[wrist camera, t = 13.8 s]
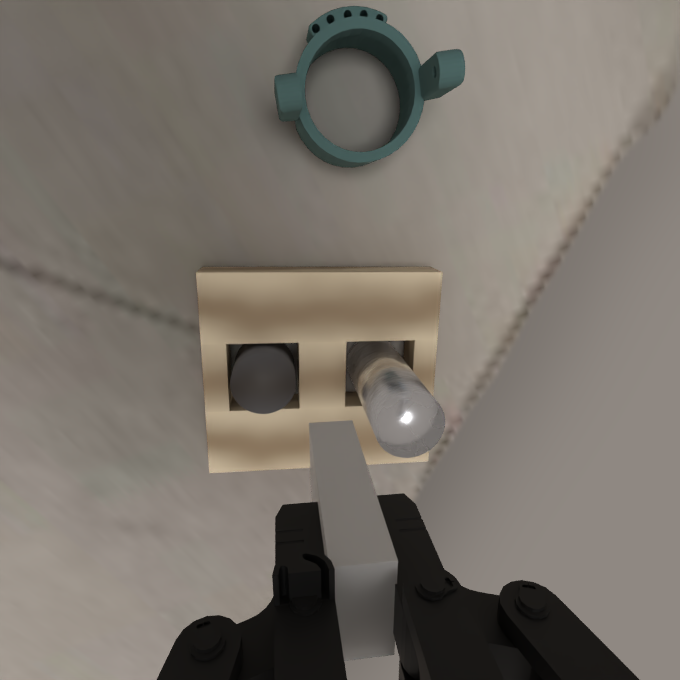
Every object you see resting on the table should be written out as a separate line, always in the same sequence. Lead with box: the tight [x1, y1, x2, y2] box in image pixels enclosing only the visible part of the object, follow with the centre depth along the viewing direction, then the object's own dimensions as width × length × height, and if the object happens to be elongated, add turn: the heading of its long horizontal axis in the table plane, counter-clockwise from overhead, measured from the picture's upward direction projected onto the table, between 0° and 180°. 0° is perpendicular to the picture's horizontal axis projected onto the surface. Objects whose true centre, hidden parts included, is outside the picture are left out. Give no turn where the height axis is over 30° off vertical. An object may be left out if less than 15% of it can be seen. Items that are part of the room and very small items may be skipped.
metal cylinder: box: [346, 341, 445, 458], centre depth 35 cm, size 4×4×12 cm
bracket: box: [275, 6, 465, 167], centre depth 31 cm, size 9×9×9 cm
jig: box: [196, 267, 443, 473], centre depth 38 cm, size 16×18×4 cm
